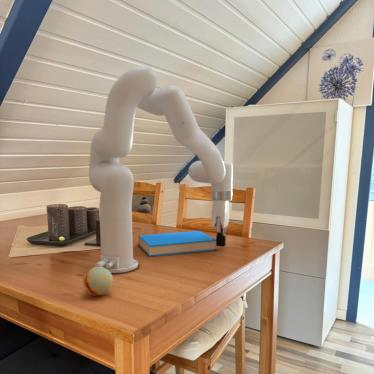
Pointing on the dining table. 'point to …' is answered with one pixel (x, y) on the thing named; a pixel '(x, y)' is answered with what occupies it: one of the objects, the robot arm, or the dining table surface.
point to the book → (176, 243)
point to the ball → (98, 281)
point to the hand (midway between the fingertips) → (220, 245)
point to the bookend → (97, 240)
